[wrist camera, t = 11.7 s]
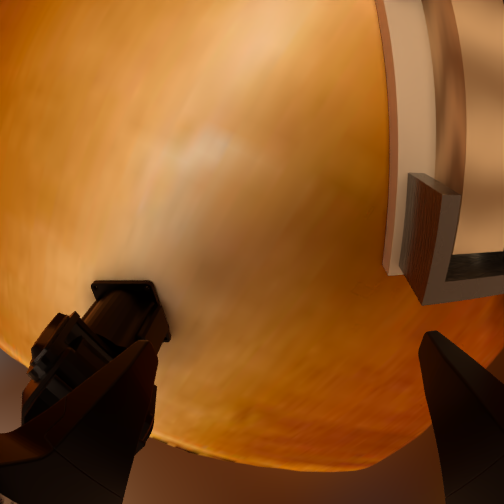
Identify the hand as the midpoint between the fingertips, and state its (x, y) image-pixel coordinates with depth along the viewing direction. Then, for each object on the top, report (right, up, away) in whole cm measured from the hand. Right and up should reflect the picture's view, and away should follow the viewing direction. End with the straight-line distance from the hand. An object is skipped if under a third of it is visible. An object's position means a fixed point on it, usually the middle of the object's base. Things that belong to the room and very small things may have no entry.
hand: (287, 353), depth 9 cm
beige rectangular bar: (+12, +13, +4) cm, 18 cm away
